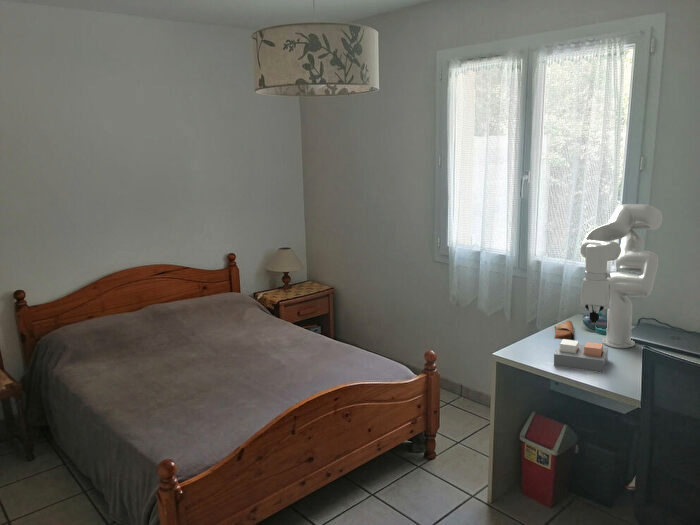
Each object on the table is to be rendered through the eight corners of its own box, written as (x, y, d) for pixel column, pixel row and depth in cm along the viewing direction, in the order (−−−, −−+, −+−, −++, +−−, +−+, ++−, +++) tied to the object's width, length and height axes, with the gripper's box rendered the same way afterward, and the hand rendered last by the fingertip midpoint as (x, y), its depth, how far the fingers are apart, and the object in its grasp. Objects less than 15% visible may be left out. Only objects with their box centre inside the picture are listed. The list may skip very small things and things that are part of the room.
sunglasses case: (553, 325, 260) (561, 314, 258) (566, 333, 259) (574, 322, 256) (554, 338, 243) (562, 326, 241) (568, 346, 242) (576, 335, 240)
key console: (560, 353, 226) (560, 342, 225) (607, 359, 217) (608, 348, 216) (553, 365, 215) (554, 353, 214) (603, 372, 205) (603, 360, 204)
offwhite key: (562, 347, 221) (562, 339, 221) (578, 349, 218) (578, 340, 218) (559, 352, 216) (560, 343, 216) (575, 354, 213) (576, 345, 213)
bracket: (596, 322, 262) (596, 306, 260) (611, 323, 259) (612, 307, 257) (595, 334, 246) (595, 318, 245) (611, 335, 243) (612, 319, 242)
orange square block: (586, 350, 217) (586, 341, 216) (602, 352, 214) (602, 343, 213) (584, 355, 212) (584, 346, 211) (600, 357, 209) (601, 349, 208)
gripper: (618, 275, 205) (616, 321, 209) (576, 272, 213) (575, 317, 217) (616, 279, 199) (614, 327, 203) (573, 276, 207) (571, 322, 210)
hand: (593, 321), depth 210 cm, fingers closed
